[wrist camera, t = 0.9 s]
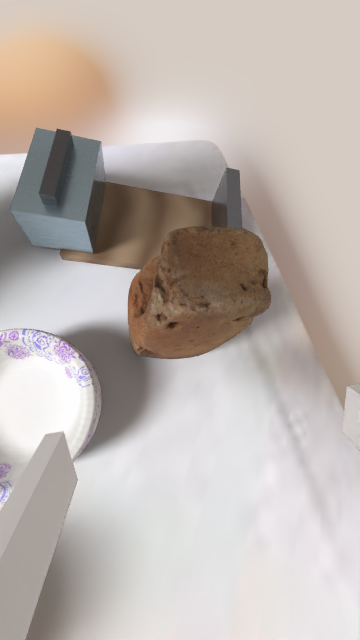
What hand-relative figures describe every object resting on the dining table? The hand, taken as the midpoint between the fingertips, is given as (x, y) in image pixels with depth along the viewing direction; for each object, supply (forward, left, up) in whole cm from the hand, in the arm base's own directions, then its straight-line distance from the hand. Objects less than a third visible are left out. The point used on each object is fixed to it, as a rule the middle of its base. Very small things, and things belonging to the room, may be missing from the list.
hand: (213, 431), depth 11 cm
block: (0, +10, -22) cm, 24 cm away
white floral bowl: (-15, 0, -22) cm, 27 cm away
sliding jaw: (-15, +27, -20) cm, 37 cm away
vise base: (-4, +27, -22) cm, 35 cm away
